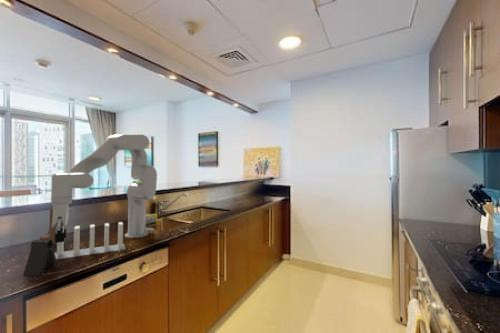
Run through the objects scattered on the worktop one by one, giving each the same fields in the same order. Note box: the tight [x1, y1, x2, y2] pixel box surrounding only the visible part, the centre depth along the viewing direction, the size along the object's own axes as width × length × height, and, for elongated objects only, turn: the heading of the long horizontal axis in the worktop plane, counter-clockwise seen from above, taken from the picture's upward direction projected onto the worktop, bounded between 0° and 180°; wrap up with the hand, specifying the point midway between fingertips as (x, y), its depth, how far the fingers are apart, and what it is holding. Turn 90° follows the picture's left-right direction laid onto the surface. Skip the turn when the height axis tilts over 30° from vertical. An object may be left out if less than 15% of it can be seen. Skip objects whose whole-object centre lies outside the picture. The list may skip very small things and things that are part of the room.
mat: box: [54, 243, 126, 260], centre depth 115 cm, size 30×10×1 cm, turn 122°
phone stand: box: [22, 239, 59, 277], centre depth 93 cm, size 9×6×12 cm, turn 1°
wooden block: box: [39, 208, 57, 245], centre depth 126 cm, size 9×4×18 cm, turn 167°
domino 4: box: [103, 222, 110, 251], centre depth 118 cm, size 2×6×12 cm, turn 32°
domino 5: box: [117, 221, 124, 249], centre depth 122 cm, size 2×6×12 cm, turn 32°
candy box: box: [145, 213, 158, 228], centre depth 165 cm, size 16×2×8 cm, turn 137°
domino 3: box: [88, 224, 96, 253], centre depth 115 cm, size 2×6×12 cm, turn 32°
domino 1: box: [56, 225, 65, 256], centre depth 109 cm, size 2×6×12 cm, turn 32°
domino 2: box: [73, 225, 81, 255], centre depth 112 cm, size 2×6×12 cm, turn 32°
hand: (60, 239), depth 109 cm, fingers closed on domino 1, 6 cm apart
